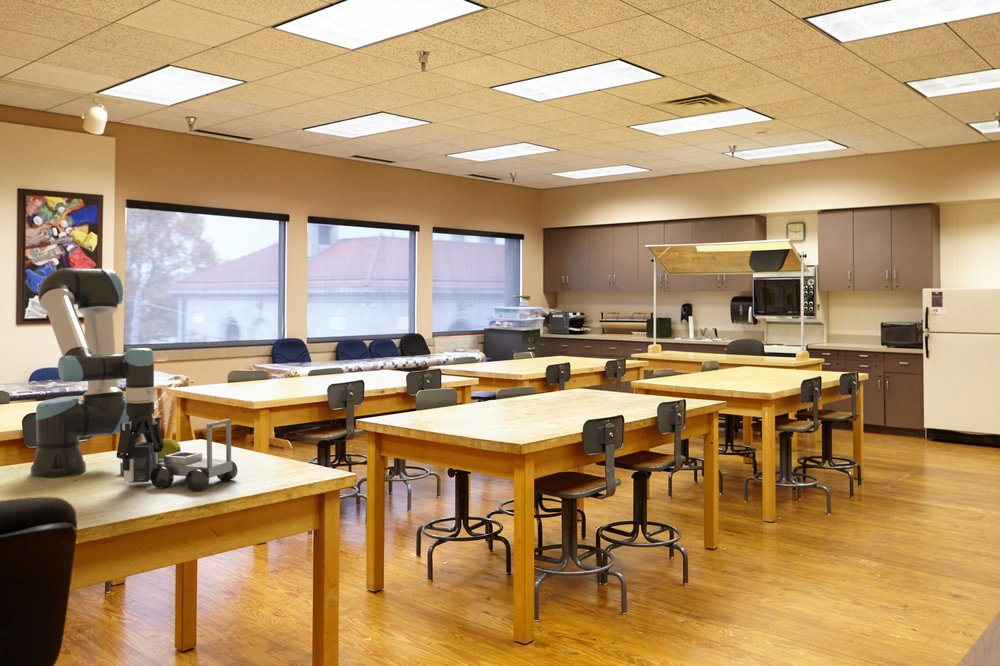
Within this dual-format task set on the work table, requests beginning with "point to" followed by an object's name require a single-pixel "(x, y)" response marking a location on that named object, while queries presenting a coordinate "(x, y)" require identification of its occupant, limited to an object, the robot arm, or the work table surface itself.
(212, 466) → the trolley
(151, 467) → the box
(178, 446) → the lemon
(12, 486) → the work table surface
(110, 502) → the work table surface
